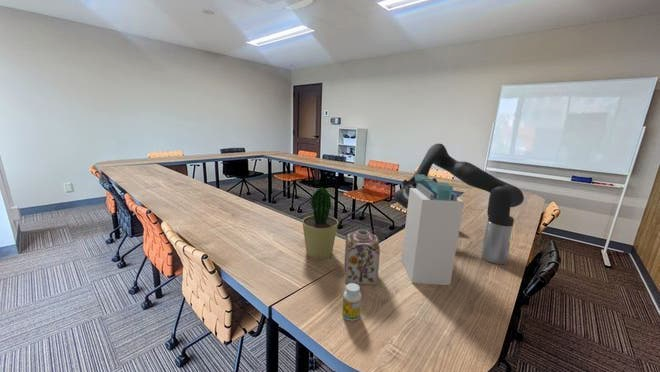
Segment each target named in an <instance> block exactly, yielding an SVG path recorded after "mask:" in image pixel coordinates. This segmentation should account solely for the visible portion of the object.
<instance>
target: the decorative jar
mask: <svg viewBox="0 0 660 372" xmlns="http://www.w3.org/2000/svg"><path fill="white" fill-rule="evenodd" d="M380 248H381V247H380V243H379V238H378V236H377V235H376V234H373V233H371V232H370V231H368V230H366V229H358V230H356V231H353V232H349V233H347V234H346V237H345V250H344V283H345V284H346V285H347V284H349V283H355V284H357V285H365V284H367V285H370V286H377V285H378V279H379V269H380V255H381V253H380V252H381V251H380V250H381V249H380Z"/></svg>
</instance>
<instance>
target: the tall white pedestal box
mask: <svg viewBox="0 0 660 372" xmlns="http://www.w3.org/2000/svg"><path fill="white" fill-rule="evenodd" d="M464 205H465V201H464V200H463V199H461V198H460V197H459V196H458V195H457V194H456V193H455V192H453V191H452V196H451V201H443V200H435V199H434V194H433V193H432V192H431V191H429V190H428V189H427V188H425V187H424V186H422V185H421V184H417V186H416V188H410V191H409V199H408V208H406V209H407V210H406V218H405V227H404V236H403V241H402V242H403V243H402V252H401V253H402V254H401V259H400V260H401V261H400V262H401V264H402V266H403V267H404V270H405V272H406V275H407V276H408V278H409V280H410V283H411V284H424V285H438V286H440V285H442V286H451V283H452V282H451V281H452V276H453V275H452V274H453V269H454V264H455V258H456V252H457V246H458V240H459V235H460V229H461V228H460V227H461V222H462V217H463V210H464Z"/></svg>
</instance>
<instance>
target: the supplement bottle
mask: <svg viewBox="0 0 660 372" xmlns="http://www.w3.org/2000/svg"><path fill="white" fill-rule="evenodd" d="M360 290H361V288H360V285H359V284H355V283H349V284H346V286H345V291H344V292H343V295H342V314H341V315H342V317H343V318H344V319H345V320H346V321H349V320H350V322H354V320H355V321H357V319H358V320H359V319H360V317H361V310H362V309H361V308H362V307H361V306H362V293H361V291H360Z"/></svg>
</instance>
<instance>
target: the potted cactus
mask: <svg viewBox="0 0 660 372" xmlns="http://www.w3.org/2000/svg"><path fill="white" fill-rule="evenodd" d="M311 195H312V196H309V197H310V204H311V205H310V207H311V208H310V209H311V211H312V212H313V213H311V214H312V215H309V216H306V217H304V218H302V221H301V222H302V229H303V237H304V238H303V239H304V244H305V253H306V255H307V256H308V257H309V258H311V259H316V260H325V259H328V258H330V257H331V256H332V253H333V250H334V246H335V245H334V244H335V240H336V236H337V231H338V226H339V225H338V224H339V220H338V219H336V218H335V217H334V216H333V217H332V216H329V215H330V210H333V208H332V198H331V197H332V193H330V192H328V189H327V188H324V187H319V188H318V189H316V190H315V191H314V192H313V191H312V194H311Z"/></svg>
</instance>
